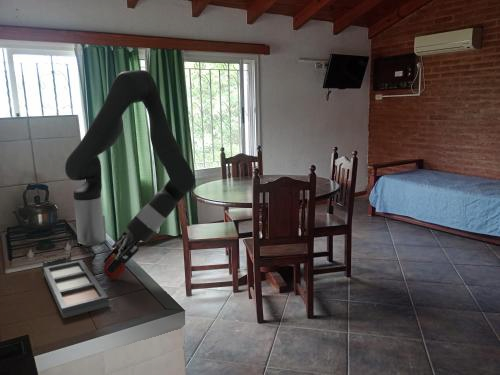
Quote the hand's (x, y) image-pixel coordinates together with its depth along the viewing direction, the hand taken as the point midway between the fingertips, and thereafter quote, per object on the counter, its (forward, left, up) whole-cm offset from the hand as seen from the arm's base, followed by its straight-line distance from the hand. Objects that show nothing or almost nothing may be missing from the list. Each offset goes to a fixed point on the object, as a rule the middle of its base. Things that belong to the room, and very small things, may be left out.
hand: (107, 267), depth 118 cm
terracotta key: (+13, +4, -3) cm, 14 cm away
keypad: (+9, -4, -4) cm, 10 cm away
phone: (-4, -27, -5) cm, 28 cm away
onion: (-1, +1, -4) cm, 5 cm away
